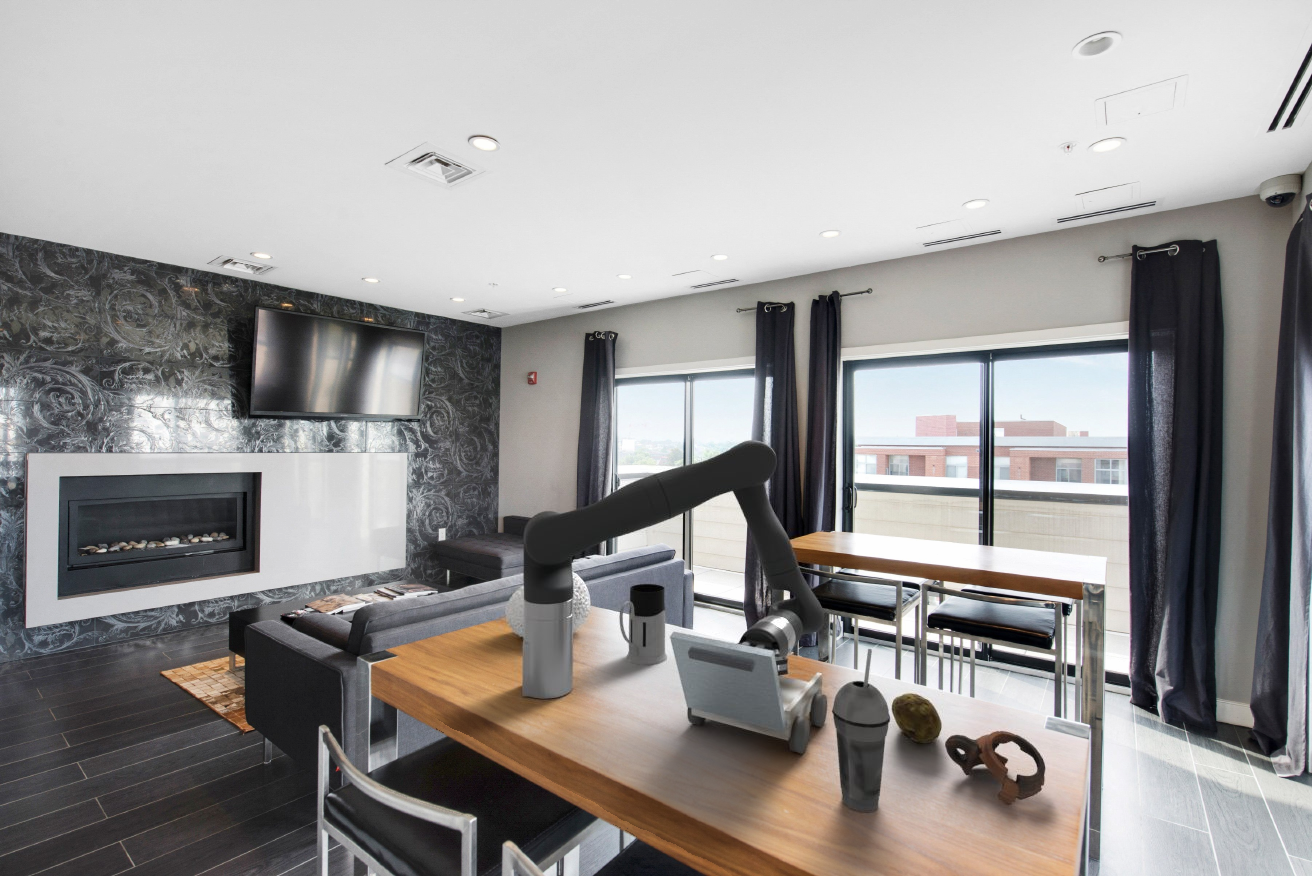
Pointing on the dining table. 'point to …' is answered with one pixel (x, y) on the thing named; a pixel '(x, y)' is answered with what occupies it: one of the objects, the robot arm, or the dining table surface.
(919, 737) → the potato
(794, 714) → the flatbed cart
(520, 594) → the cauliflower
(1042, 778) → the brown curved piece
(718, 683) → the panel
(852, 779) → the beverage cup
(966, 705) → the dining table surface
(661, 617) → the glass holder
